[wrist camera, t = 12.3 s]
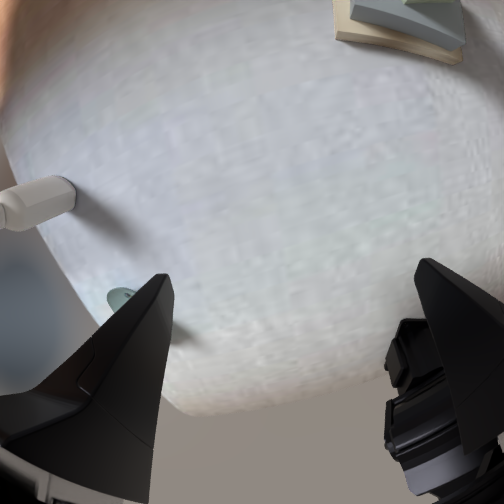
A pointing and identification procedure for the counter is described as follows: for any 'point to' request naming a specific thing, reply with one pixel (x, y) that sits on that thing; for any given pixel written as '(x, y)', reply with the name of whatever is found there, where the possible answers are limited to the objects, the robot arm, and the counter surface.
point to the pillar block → (426, 1)
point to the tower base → (386, 36)
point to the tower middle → (415, 19)
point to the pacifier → (118, 297)
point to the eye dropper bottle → (35, 202)
